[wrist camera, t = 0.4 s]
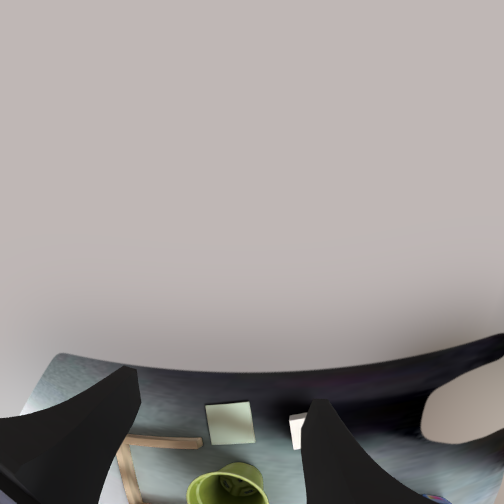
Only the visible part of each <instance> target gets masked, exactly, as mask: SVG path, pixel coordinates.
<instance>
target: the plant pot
mask: <svg viewBox="0 0 504 504" xmlns="http://www.w3.org/2000/svg"><path fill="white" fill-rule="evenodd" d="M240 479H242V480H243V481H242V482H239V480H240ZM224 481H226V483H227V485H228V486H229V488H228V487H226V486H225V484H224ZM250 490H253V491H252V492H250V493H244V492H247V491H250ZM186 499H187V503H188V504H269V502H268V498H267V496H266V494H265V493H264V491H263V478H262V475H261V473H260V472H259V471H258V470H257V469H256V468H255V467H254V466H251V465H249V464H245V463H241V462H236V463H231V464H228V465H227V466H225V467H223V468H222V469H220V470H218V471H217V472H210V473H206V474H203V475H201V476H199V477H197V478H196V479H195V480H193V481H192V482H191V484H190V485H189V487H188V489H187V493H186Z"/></svg>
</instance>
